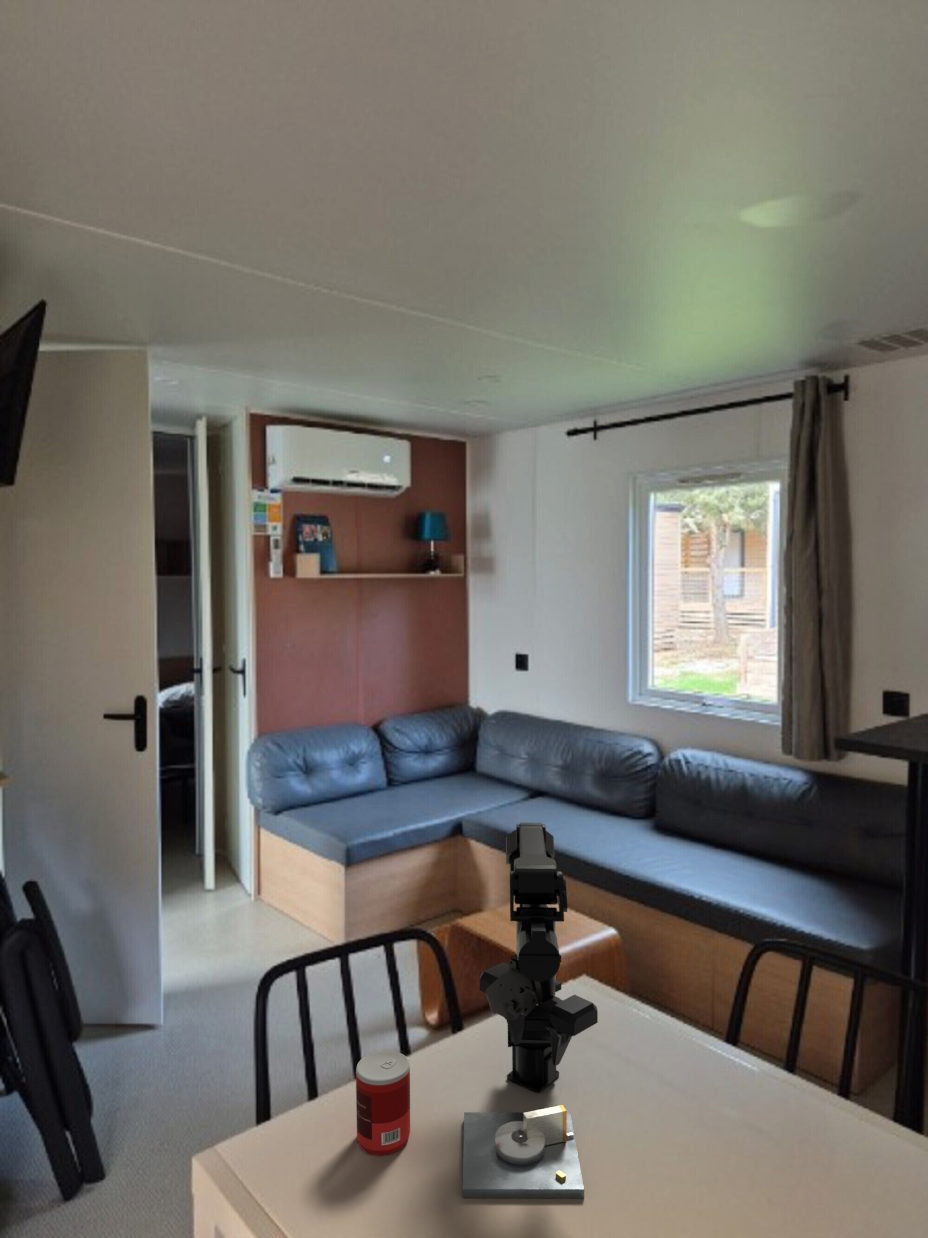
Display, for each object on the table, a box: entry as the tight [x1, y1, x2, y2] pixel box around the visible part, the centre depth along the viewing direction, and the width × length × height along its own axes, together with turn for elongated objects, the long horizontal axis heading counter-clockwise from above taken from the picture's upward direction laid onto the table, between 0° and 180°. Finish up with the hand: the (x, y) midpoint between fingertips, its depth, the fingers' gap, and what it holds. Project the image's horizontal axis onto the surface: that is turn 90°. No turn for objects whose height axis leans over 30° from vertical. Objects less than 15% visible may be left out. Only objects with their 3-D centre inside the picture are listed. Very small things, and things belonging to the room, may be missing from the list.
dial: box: [495, 1104, 567, 1165], centre depth 116 cm, size 10×7×4 cm
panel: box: [462, 1111, 585, 1199], centre depth 116 cm, size 16×16×2 cm
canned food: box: [355, 1050, 411, 1156], centre depth 120 cm, size 8×8×11 cm
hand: (536, 1054), depth 120 cm, fingers open, 7 cm apart
